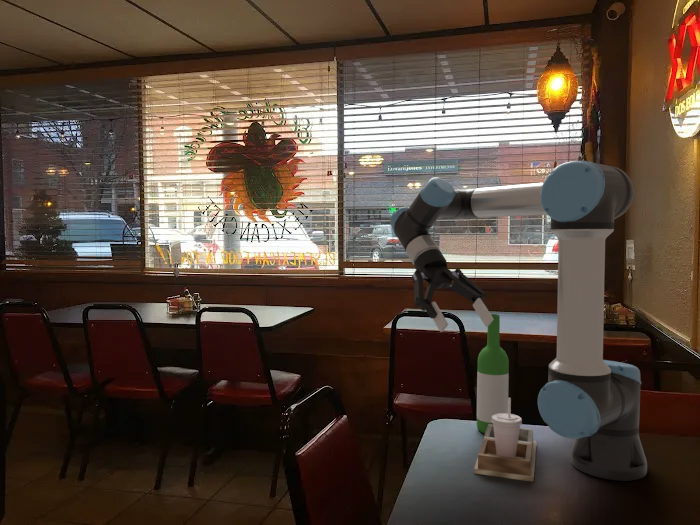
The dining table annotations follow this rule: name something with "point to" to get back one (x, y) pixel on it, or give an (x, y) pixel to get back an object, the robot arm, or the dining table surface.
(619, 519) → the dining table surface
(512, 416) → the smoothie
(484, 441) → the board
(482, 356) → the wine bottle
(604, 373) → the robot arm
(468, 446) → the dining table surface
